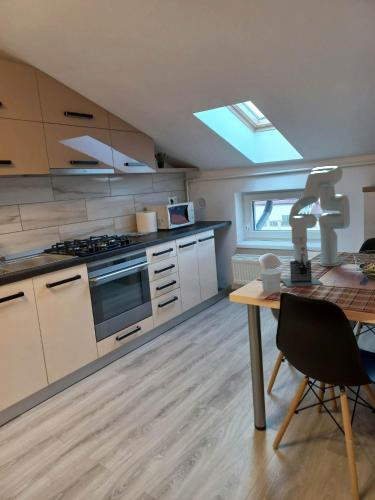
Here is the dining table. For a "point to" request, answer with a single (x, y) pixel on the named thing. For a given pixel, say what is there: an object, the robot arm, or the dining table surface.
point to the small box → (296, 272)
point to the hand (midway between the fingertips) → (300, 272)
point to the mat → (296, 284)
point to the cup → (271, 280)
